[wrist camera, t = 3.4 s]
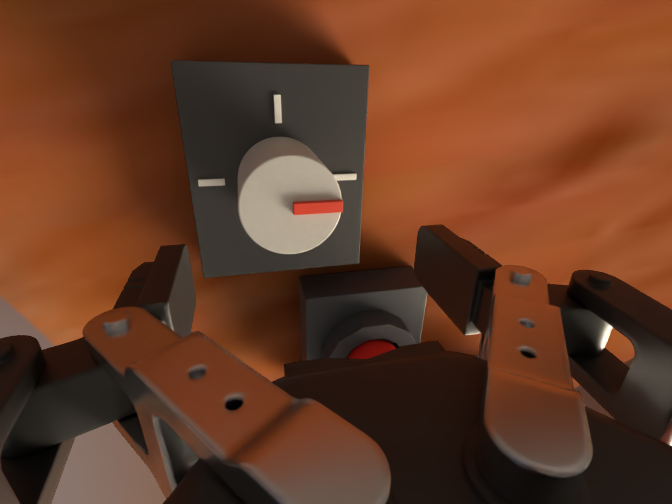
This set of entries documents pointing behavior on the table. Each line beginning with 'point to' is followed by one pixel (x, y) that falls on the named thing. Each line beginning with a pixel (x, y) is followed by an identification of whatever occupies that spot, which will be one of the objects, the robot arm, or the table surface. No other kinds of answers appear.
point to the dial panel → (261, 123)
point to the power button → (370, 349)
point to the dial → (287, 196)
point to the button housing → (359, 310)
